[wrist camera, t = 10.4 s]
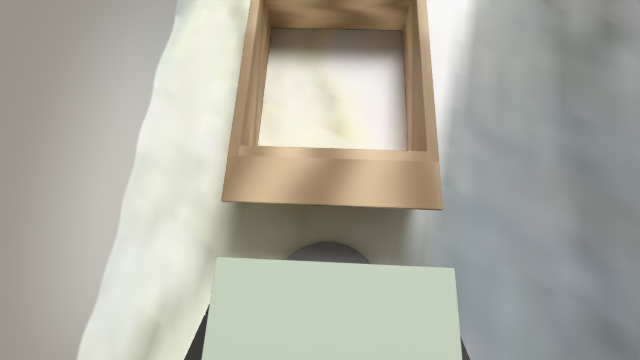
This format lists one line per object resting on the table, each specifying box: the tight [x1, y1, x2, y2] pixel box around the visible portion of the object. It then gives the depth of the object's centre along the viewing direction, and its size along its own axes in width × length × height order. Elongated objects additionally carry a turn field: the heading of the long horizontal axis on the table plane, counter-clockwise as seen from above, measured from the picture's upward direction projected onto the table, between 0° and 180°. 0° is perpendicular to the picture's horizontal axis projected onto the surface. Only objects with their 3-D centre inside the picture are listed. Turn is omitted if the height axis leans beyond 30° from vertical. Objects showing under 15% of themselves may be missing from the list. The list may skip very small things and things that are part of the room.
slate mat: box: [287, 242, 370, 264], centre depth 23 cm, size 9×9×1 cm
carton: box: [221, 0, 443, 210], centre depth 27 cm, size 16×25×5 cm, turn 177°
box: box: [202, 257, 462, 360], centre depth 10 cm, size 5×5×10 cm
